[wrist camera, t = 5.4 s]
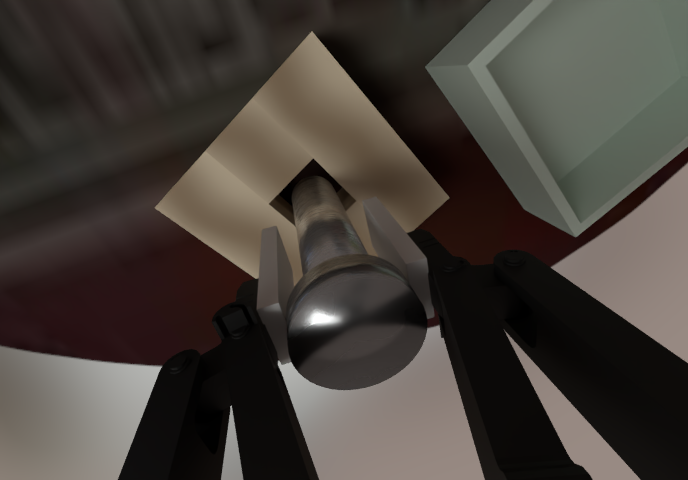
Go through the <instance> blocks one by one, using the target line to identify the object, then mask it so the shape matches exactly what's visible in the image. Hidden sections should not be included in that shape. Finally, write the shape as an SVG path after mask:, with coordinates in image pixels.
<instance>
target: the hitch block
mask: <svg viewBox="0 0 688 480" xmlns="http://www.w3.org/2000/svg"><path fill="white" fill-rule="evenodd" d="M313 158H314V159H315V160H316V161H317V162H318V163H319V164H320V165H321V166H322V167H323V168H324V169H325V170H326V171H327V172H328V173H329V174H330V175H331V176H332V177H333V178H334V179H335V180H336V181H337V182H338V183H339V184H340V185H341V186H342V188H341V189H340V190H339V191H338V192H337V193H336V194H337V195H338V197H339V199H340V201H341V203H342V205H343V207H344V209H345V211H346V213H347V215H348V217H349V218H350V220H351V222H352V224H353V226H354V228H355V230H356V232H357V234H358V236H359V238H360V240H361V241H362V243H363V245H364V247H365V249H366V251H367V253H368V255H372V256H376V257H378V255H377V253H376V251H375V250H374V248H373V246H372V243H371V239H370V234H369V229H368V225H367V220H366V216H365V211H364V207H363V202H362V200H365V199H369V198H372V197H377V198H378V199H379V200H380V202H381V203H382V204H383V205H384V207H385V208H386V209H387V210H388V211H389V213H390V214H391V215H392V216H393V217H394V219H395V220H396V221H397V222H398V224H399V225H400V226H401V227H402V228H403V230H404V231H405V232H406V233H408V232H411V231H413V230H415V229H416V228H417V227H418V226H419V225H420V224H421V223H422V222H423V221H424V220H426V219H427V218H428V217H429V216H430V215H431V214H432V213H433V212H434V211H435V210H437V209H438V208H439V207H440V206H441V205H442V204H443V203H444V202H445V201H447V200H448V199H449V196H448V195H447V194H446V193H445V192H444V190H443V189H442V188H441V187H440V185H439V184H438V183H437V182H436V181H435V179H434V178H433V177H432V176H431V175H430V173H429V172H428V171H427V170H426V169H425V167H424V166H423V165H422V164H421V163H420V161H419V160H418V159H417V158H416V156H415V155H414V154H413V153H412V152H411V150H410V149H409V148H408V147H407V146H406V144H405V143H404V142H403V141H402V140H401V138H400V137H399V136H398V135H397V133H396V132H395V131H394V130H393V129H392V127H391V126H390V125H389V124H388V123H387V121H386V120H385V119H384V118H383V117H382V115H381V114H380V113H379V112H378V111H377V109H376V108H375V107H374V106H373V104H372V103H371V102H370V101H369V100H368V98H367V97H366V96H365V95H364V94H363V92H362V91H361V90H360V89H359V88H358V86H357V85H356V84H355V83H354V81H353V80H352V79H351V78H350V77H349V75H348V74H347V73H346V72H345V71H344V69H343V68H342V67H341V66H340V65H339V63H338V62H337V61H336V60H335V59H334V57H333V56H332V55H331V54H330V52H329V51H328V50H327V49H326V48H325V46H324V45H323V44H322V43H321V42H320V40H319V39H318V38H317V37H316V36H315V34H314V33H313V32H311V33H310V34H309V35H308V36H307V37H306V38H305V39H304V40H303V42H302V43H301V44H300V45H299V46H298V47H297V48H296V49H295V51H294V52H293V53H292V54H291V55H290V56H289V57H288V58H287V60H286V61H285V62H284V63H283V64H282V65H281V66H280V67H279V69H278V70H277V71H276V72H275V73H274V74H273V75H272V76H271V78H270V79H269V80H268V81H267V82H266V83H265V84H264V85H263V86H262V88H261V89H260V90H259V91H258V92H257V93H256V94H255V95H254V97H253V98H252V99H251V100H250V101H249V102H248V103H247V104H246V106H245V107H244V108H243V109H242V110H241V111H240V112H239V113H238V115H237V116H236V117H235V118H234V119H233V120H232V121H231V122H230V124H229V125H228V126H227V127H226V128H225V129H224V130H223V131H222V133H221V134H220V135H219V136H218V137H217V138H216V139H215V140H214V142H213V143H212V144H211V145H210V146H209V147H208V148H207V149H206V151H205V152H204V153H203V154H202V155H201V156H200V157H199V158H198V160H197V161H196V162H195V163H194V164H193V165H192V166H191V167H190V169H189V170H188V171H187V172H186V173H185V174H184V175H183V176H182V177H181V179H180V180H179V181H178V182H177V183H176V184H175V185H174V186H173V188H172V189H171V190H170V191H169V192H168V193H167V194H166V196H165V197H164V198H163V199H162V200H161V201H160V202H159V204H158V205H157V206H156V207H155V208H156V209H157V210H158V211H160V212H161V213H163V214H164V215H166V216H167V217H168V218H170V219H171V220H173V221H174V222H176V223H177V224H178V225H180V226H181V227H183V228H184V229H186V230H187V231H188V232H190V233H191V234H193V235H194V236H196V237H197V238H198V239H200V240H201V241H203V242H204V243H206V244H207V245H208V246H210V247H211V248H213V249H214V250H216V251H217V252H218V253H220V254H221V255H223V256H224V257H226V258H227V259H228V260H230V261H231V262H233V263H234V264H236V265H237V266H238V267H240V268H241V269H243V270H244V271H246V272H247V273H248V274H250V275H251V276H253V277H254V278H256V279H257V278H259V266H260V251H261V236H262V229H266V228H269V227H273V226H277V228H278V231H279V234H280V237H281V239H282V242H283V245H284V248H285V250H286V253H287V256H288V259H289V261H290V264H291V267H292V271H293V281H294V287H295V285H296V284H297V283H298V281H299V280H300V279H301V278H302V277H303V273H302V266H301V259H300V252H299V246H298V239H297V232H296V225H295V219H294V212H293V207H292V206H291V205H290V204H289V203H288V202H287V201H285V200H284V199H283V198H282V197H281V196H280V195H279V193H280V192H281V191H282V190H283V189H284V188H285V187H286V186H287V185H288V184H289V182H290V181H291V180H292V179H293V178H294V177H295V176H296V175H297V174H298V173H299V172H300V171H301V170H302V169H303V168H304V167H305V166H306V165H307V164H308V163H309V162H310V161H311V160H312V159H313Z"/></svg>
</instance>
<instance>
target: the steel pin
mask: <svg viewBox="0 0 688 480" xmlns="http://www.w3.org/2000/svg"><path fill="white" fill-rule="evenodd" d="M292 205H293V212H294V219H295V225H296V232H297V239H298V246H299V252H300V259H301V266H302V273H303V277H302V278H301V279H300V280H299V281H298V283H297V284H296V285H295V287H294V288H293V290H292V292H291V294H290V296H289V299H288V302H287V307H286V327H287V345H288V353H289V357H290V360H291V362H292V364H293V366H294V367H295V368H296V370H297V371H298V372H299V373H300V374H301V375H302V376H303V377H304V378H306V379H307V380H309V381H310V382H312V383H314V384H316V385H319V386H322V387H325V388H329V389H337V390H353V389H360V388H366V387H369V386H373V385H376V384H378V383H381V382H383V381H385V380H387V379H389V378H391V377H392V376H394V375H396V374H397V373H398V372H400V371H401V370H402V369H404V368H405V367H406V366H407V365H408V364H409V363H410V362H411V361H412V360H413V359H414V357H415V356H416V355H417V353H418V352H419V350H420V348H421V347H422V344H423V342H424V340H425V337H426V332H427V315H426V311H425V309H424V306H423V304H422V303H421V301H420V299H419V298H418V296H417V295H416V293H415V292H414V290H413V289H412V287H411V285H410V284H409V282H408V281H407V279H406V278H405V276H404V275H403V273H402V272H401V271H400V270H399V269H398V268H397V267H396V266H395V265H393V264H392V263H390V262H388V261H387V260H385V259H382V258H380V257H376V256H372V255H368V253H367V251H366V249H365V247H364V245H363V243H362V241H361V240H360V238H359V236H358V234H357V232H356V230H355V228H354V226H353V224H352V222H351V220H350V218H349V217H348V215H347V213H346V211H345V209H344V207H343V205H342V203H341V201H340V199H339V197H338V195H337V194H336V192H335V190H334V188H333V186H332V184H331V183H330V182H329V181H328V180H326V179H325V178H323V177H320V176H309V177H305V178H303V179H302V180H300V181H299V182H298V183H297V184H296V185H295V187H294V189H293V191H292Z"/></svg>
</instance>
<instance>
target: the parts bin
mask: <svg viewBox="0 0 688 480" xmlns="http://www.w3.org/2000/svg"><path fill="white" fill-rule="evenodd" d="M425 68H426V69H427V71H428V72H429V74H430V75H431V76H432V78H433V79H434V81H435V82H436V84H437V85H438V87H439V88H440V89H441V91H442V92H443V94H444V95H445V97H446V98H447V99H448V101H449V102H450V104H451V105H452V107H453V108H454V109H455V111H456V112H457V114H458V115H459V117H460V118H461V119H462V121H463V122H464V124H465V125H466V127H467V128H468V130H469V131H470V132H471V134H472V135H473V137H474V138H475V140H476V141H477V142H478V144H479V145H480V147H481V148H482V150H483V151H484V152H485V154H486V155H487V157H488V158H489V160H490V161H491V162H492V164H493V165H494V167H495V168H496V170H497V171H498V172H499V174H500V175H501V177H502V178H503V180H504V181H505V183H506V184H507V185H508V187H509V188H510V190H511V191H512V193H513V194H514V195H515V197H516V198H517V200H518V201H519V203H520V204H521V205H522V207H523V208H524V210H526V211H528V212H530V213H532V214H533V215H535V216H537V217H539V218H541V219H543V220H545V221H546V222H548V223H550V224H552V225H554V226H556V227H558V228H559V229H561V230H563V231H565V232H567V233H569V234H571V235H572V236H574V237H577V236H578V235H579V234H581V233H582V232H583V231H584V230H585V229H587V228H588V227H589V226H590V225H592V224H593V223H594V222H595V221H597V220H598V219H599V218H600V217H602V216H603V215H604V214H605V213H606V212H608V211H609V210H610V209H611V208H613V207H614V206H615V205H616V204H618V203H619V202H620V201H621V200H623V199H624V198H625V197H626V196H627V195H629V194H630V193H631V192H632V191H634V190H635V189H636V188H637V187H639V186H640V185H641V184H642V183H644V182H645V181H646V180H647V179H648V178H650V177H651V176H652V175H653V174H655V173H656V172H657V171H658V170H660V169H661V168H662V167H663V166H665V165H666V164H667V163H668V162H669V161H671V160H672V159H673V158H674V157H676V156H677V155H678V154H679V153H681V152H682V151H683V150H684V149H685V148H687V147H688V0H491V1H490V2H489V3H488V4H487V5H486V6H485V7H484V8H483V9H482V10H481V11H480V12H479V13H478V14H477V15H476V16H475V17H474V18H473V19H472V20H471V21H470V22H469V23H468V24H467V25H466V26H465V27H464V28H463V29H462V30H461V31H460V32H459V33H458V34H457V35H456V36H455V37H454V38H453V39H452V40H451V41H450V42H449V43H448V44H447V45H446V46H445V47H444V48H443V49H442V50H441V51H440V52H439V53H438V54H437V55H436V56H435V57H434V58H433V59H432V60H431V61H430V63H429V64H428V65H427V66H426V67H425Z"/></svg>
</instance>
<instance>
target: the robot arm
mask: <svg viewBox="0 0 688 480" xmlns="http://www.w3.org/2000/svg"><path fill="white" fill-rule="evenodd" d="M362 202H363V207H364V211H365V216H366V220H367V225H368V229H369V234H370V239H371V243H372V246H373V248H374V250H375V251H376V253H377V255H378V257H380V258H382V259H385V260H387V261H388V262H390V263H392V264H393V265H395V266H396V267H397V268H398V269H399V270H400V271H401V272H402V273H403V275H404V276H405V278H406V279H407V281H408V282H409V284H410V285H411V287H412V289H413V290H414V292H415V293H416V295H417V296H418V298H419V299H420V301H421V303H422V304H423V306H424V309H425V311H426V315H427V319H429V318H432V317H435V316H434V309H433V306H434V308H435V309H436V311H437V312H438V316H439V324H440V330H441V331H440V332H441V338H444V340H445V344H446V347H447V351H448V354H449V358H450V361H451V365H452V368H453V371H454V375H455V378H456V382H457V385H458V389H459V392H460V395H461V399H462V402H463V406H464V409H465V413H466V416H467V420H468V423H469V427H470V430H471V433H472V437H473V440H474V444H475V447H476V451H477V454H478V457H479V461H480V464H481V468H482V471H483V474H484V478H485V480H592V478H591V476H590V475H589V474H588V472H587V471H586V470H585V469H584V468H583V467H582V466H580V465H577V464H574V462H573V461H572V460H571V459H570V457H569V455H568V454H567V452H566V450H565V448H564V446H563V444H562V442H561V440H560V438H559V436H558V435H557V432H556V430H555V429H554V427H553V425H552V423H551V421H550V419H549V417H548V415H547V413H546V411H545V409H544V407H543V405H542V403H541V401H540V399H539V397H538V395H537V394H536V391H535V390H534V388H533V386H532V384H531V382H530V380H529V378H528V376H527V374H526V372H525V370H524V368H523V366H522V364H521V362H520V360H519V358H518V356H517V355H516V353H515V351H514V349H513V347H512V345H511V343H510V341H509V339H508V337H507V335H506V333H505V331H506V332H507V333H508V334H509V335H510V337H511V338H512V339H513V340H514V341H515V342H516V343H517V344H518V345H519V346H520V348H521V349H522V350H523V351H524V352H525V353H526V354H527V355H528V356H529V357H530V359H531V360H532V361H533V362H534V363H535V364H536V365H537V366H538V367H539V368H540V370H541V371H542V372H543V373H544V374H545V375H546V376H547V377H548V378H549V379H550V380H551V382H552V383H553V384H554V385H555V386H556V387H557V388H558V389H559V390H560V391H561V392H562V394H563V395H564V396H565V397H566V398H567V399H568V400H569V401H570V402H571V404H572V405H573V406H574V407H575V408H576V409H577V410H578V411H579V412H580V413H581V415H582V416H584V418H585V419H586V420H587V421H588V422H589V423H590V424H591V425H592V427H593V428H594V429H595V430H596V431H597V432H598V433H599V434H600V435H601V436H602V438H603V439H604V440H605V441H606V442H607V443H608V444H609V445H610V446H611V447H612V449H613V450H614V451H615V452H616V453H617V454H618V455H619V456H620V457H621V458H622V459H623V460H624V462H625V463H626V464H627V465H628V466H629V467H630V468H631V469H632V471H634V473H635V474H636V475H637V476H638V477H639V478H640V479H641V480H688V363H687V362H685V361H684V360H682V359H681V358H680V357H678V356H676V355H675V354H674V353H672V352H671V351H669V350H668V349H667V348H665V347H663V346H662V345H661V344H659V343H658V342H656V341H655V340H654V339H652V338H651V337H649V336H648V335H646V334H645V333H644V332H642V331H641V330H639V329H638V328H636V327H635V326H634V325H632V324H631V323H629V322H628V321H626V320H625V319H623V318H622V317H621V316H619V315H618V314H616V313H615V312H613V311H612V310H611V309H609V308H608V307H606V306H605V305H603V304H602V303H601V302H599V301H598V300H596V299H595V298H593V297H592V296H590V295H589V294H588V293H586V292H585V291H583V290H582V289H580V288H579V287H578V286H576V285H574V284H573V283H572V282H570V281H569V280H568V279H566V278H565V277H563V276H562V275H560V274H559V273H557V272H556V271H554V270H553V269H552V268H550V267H549V266H547V265H546V264H545V263H543V262H542V261H540V260H539V259H537V258H536V257H534V256H533V255H532V254H530V253H527V252H525V251H520V250H507V251H502V252H500V253H498V254H497V255H496V256H495V257H494V264H487V265H470V263H469V262H468V261H467V260H466V259H463V258H461V257H455V256H452V255H451V254H450V253H449V252H448V251H447V250H446V249H445V248H444V247H443V246H442V245H441V244H440V243H439V242H438V241H437V239H435V237H434V236H433V235H432V234H431V233H430V232H428V231H425V230H422V229H418V230H415V231H411V232H408V233H406V232H405V231H404V230H403V228H402V227H401V226H400V225H399V224H398V222H397V221H396V220H395V219H394V217H393V216H392V215H391V214H390V213H389V211H388V210H387V209H386V208H385V207H384V205H383V204H382V203H381V202H380V200H379V199H378V198H377V197H372V198H369V199H365V200H362ZM293 288H294V281H293V271H292V267H291V264H290V261H289V259H288V256H287V253H286V250H285V248H284V245H283V242H282V239H281V237H280V234H279V231H278V228H277V226H273V227H269V228H266V229H262V236H261V251H260V266H259V278H257V279H254V280H250V281H247V282H244V283H242V285H241V286H240V288H239V289H238V291H237V296H236V302H233V303H230V304H228V305H226V306H224V307H222V308H221V309H220V310H219V311H217V312H216V314H215V315H214V317H213V319H212V324H213V325H214V327H215V329H216V331H217V333H218V335H219V336H220V338H221V340H222V343H221V344H220V345H218V346H217V347H215V348H213V349H212V350H210V351H208V352H206V353H204V354H203V355H200V354H199V352H198V351H197V350H193V349H189V350H184V351H182V352H179V353H177V354H176V355H174V356H173V357H171V358H170V359H169V360H168V361H167V362H166V363H165V364H164V365H163V367H162V368H161V370H160V372H159V374H158V377H157V380H156V382H155V385H154V387H153V390H152V393H151V395H150V398H149V400H148V403H147V406H146V408H145V411H144V413H143V416H142V418H141V421H140V424H139V426H138V429H137V431H136V434H135V437H134V439H133V442H132V444H131V447H130V450H129V452H128V455H127V457H126V460H125V463H124V465H123V468H122V470H121V473H120V475H119V479H118V480H221V474H222V467H223V459H224V452H225V445H226V437H227V430H228V423H229V415H230V406H231V405H232V409H233V415H234V422H235V428H236V435H237V441H238V447H239V453H240V460H241V467H242V473H243V479H244V480H319V478H318V475H317V472H316V470H315V467H314V464H313V461H312V458H311V456H310V452H309V450H308V447H307V444H306V441H305V438H304V436H303V433H302V430H301V427H300V424H299V422H298V419H297V416H296V413H295V410H294V407H293V404H292V402H291V399H290V396H289V393H288V390H287V388H286V385H285V382H284V379H283V376H282V373H281V371H280V369H279V367H278V358H279V360H280V362H281V364H282V365H283V364H286V363H289V362H291V360H290V357H289V353H288V345H287V327H286V307H287V302H288V299H289V296H290V294H291V292H292V290H293ZM504 330H505V331H504Z"/></svg>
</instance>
